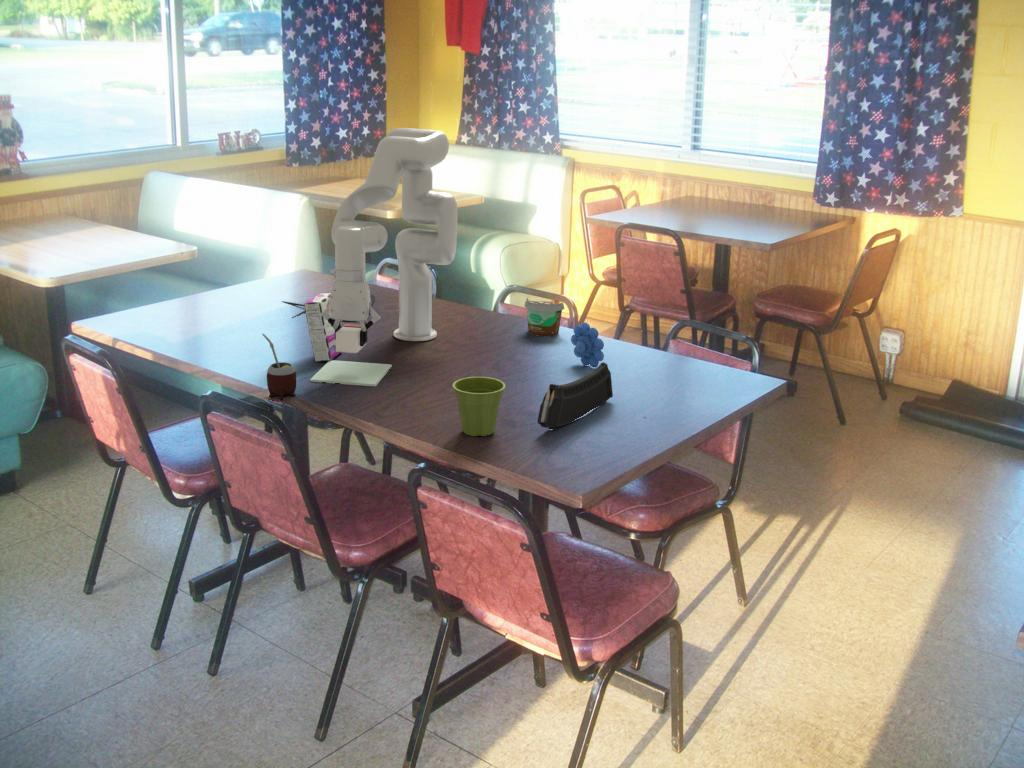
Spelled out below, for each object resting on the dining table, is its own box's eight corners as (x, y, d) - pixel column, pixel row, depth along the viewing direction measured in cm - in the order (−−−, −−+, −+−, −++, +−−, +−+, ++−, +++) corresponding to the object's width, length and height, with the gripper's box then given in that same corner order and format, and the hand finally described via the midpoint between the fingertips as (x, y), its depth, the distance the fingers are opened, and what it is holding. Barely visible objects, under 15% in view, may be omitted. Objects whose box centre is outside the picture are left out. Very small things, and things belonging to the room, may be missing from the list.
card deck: (335, 351, 278) (335, 331, 276) (345, 342, 286) (345, 323, 284) (357, 353, 277) (356, 333, 275) (365, 344, 285) (365, 324, 283)
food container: (517, 334, 325) (518, 301, 322) (524, 329, 330) (526, 297, 327) (556, 339, 321) (557, 306, 318) (563, 334, 326) (564, 302, 323)
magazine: (607, 362, 270) (549, 355, 245) (619, 364, 269) (561, 357, 243) (594, 429, 272) (534, 429, 246) (606, 432, 270) (547, 432, 244)
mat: (330, 362, 293) (330, 360, 293) (391, 366, 291) (391, 364, 291) (310, 381, 277) (310, 379, 277) (375, 386, 275) (375, 384, 275)
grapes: (559, 363, 298) (561, 321, 294) (576, 359, 303) (578, 317, 299) (591, 374, 290) (594, 330, 286) (608, 369, 295) (611, 326, 291)
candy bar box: (328, 350, 303) (318, 293, 298) (344, 349, 302) (335, 292, 297) (313, 362, 292) (303, 302, 288) (330, 361, 291) (320, 301, 287)
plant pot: (461, 419, 254) (462, 374, 251) (510, 426, 251) (512, 380, 247) (444, 437, 243) (444, 389, 240) (494, 444, 240) (496, 395, 237)
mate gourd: (296, 401, 263) (294, 341, 258) (263, 401, 261) (260, 341, 257) (297, 391, 270) (295, 332, 265) (264, 391, 268) (262, 333, 264)
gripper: (313, 276, 273) (314, 345, 278) (379, 280, 271) (379, 350, 276) (322, 270, 280) (323, 338, 286) (387, 274, 278) (387, 342, 284)
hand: (351, 343), depth 281 cm, fingers closed on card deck, 5 cm apart
